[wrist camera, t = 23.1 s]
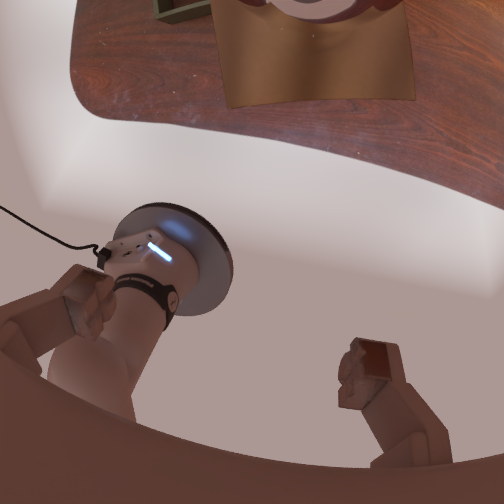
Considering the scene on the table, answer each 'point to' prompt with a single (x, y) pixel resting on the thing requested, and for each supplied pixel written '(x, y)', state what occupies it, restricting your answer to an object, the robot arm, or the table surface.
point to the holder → (179, 11)
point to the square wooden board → (311, 61)
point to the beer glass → (316, 19)
